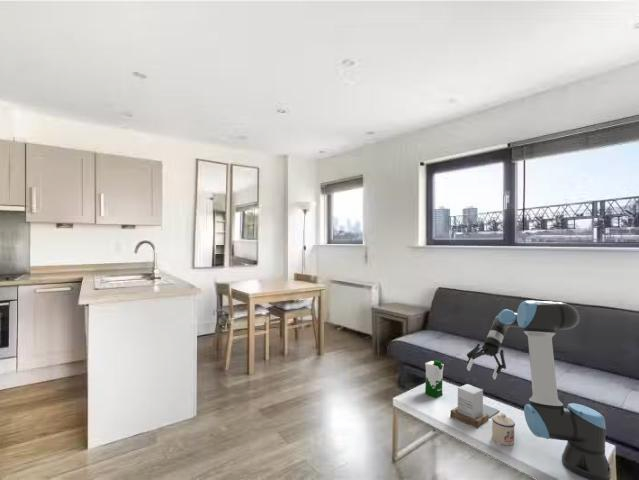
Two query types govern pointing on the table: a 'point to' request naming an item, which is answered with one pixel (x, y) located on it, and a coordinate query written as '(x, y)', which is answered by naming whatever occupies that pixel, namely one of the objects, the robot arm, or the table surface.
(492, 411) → the slate mat
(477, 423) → the walnut cradle
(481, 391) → the supplement box
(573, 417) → the robot arm
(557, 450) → the table surface
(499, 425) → the teacup with lid
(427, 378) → the milk carton
